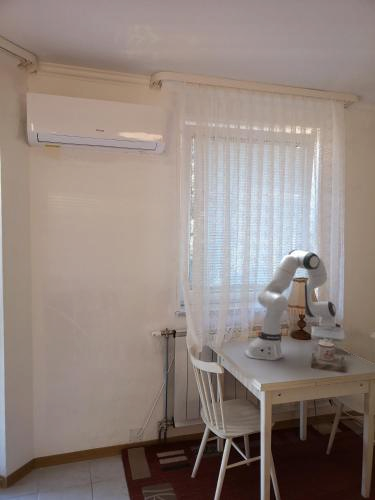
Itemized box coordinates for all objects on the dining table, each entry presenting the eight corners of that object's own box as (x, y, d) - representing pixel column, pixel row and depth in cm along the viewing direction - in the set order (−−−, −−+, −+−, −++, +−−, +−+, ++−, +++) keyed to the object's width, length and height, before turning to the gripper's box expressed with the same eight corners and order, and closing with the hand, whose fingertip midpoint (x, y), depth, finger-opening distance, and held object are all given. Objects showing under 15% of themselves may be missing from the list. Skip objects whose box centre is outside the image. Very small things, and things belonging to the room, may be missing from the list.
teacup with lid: (325, 362, 211) (326, 342, 211) (314, 357, 219) (315, 338, 219) (341, 359, 216) (341, 340, 215) (329, 355, 224) (330, 336, 224)
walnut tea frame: (311, 367, 201) (311, 362, 201) (312, 357, 218) (312, 352, 218) (345, 372, 195) (345, 366, 195) (343, 361, 212) (343, 356, 212)
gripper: (311, 322, 238) (310, 340, 229) (345, 325, 231) (345, 345, 222) (311, 327, 242) (310, 345, 234) (344, 331, 235) (344, 350, 226)
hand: (327, 345), depth 228 cm, fingers closed
